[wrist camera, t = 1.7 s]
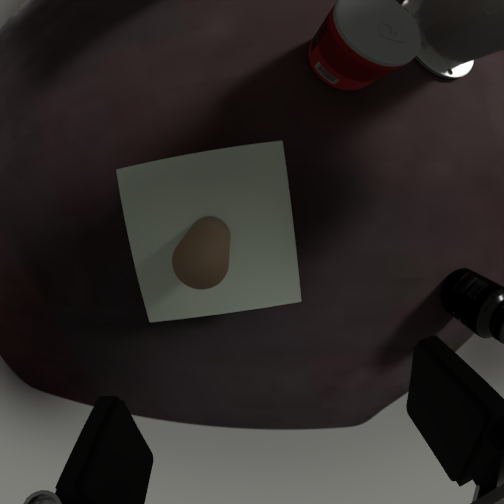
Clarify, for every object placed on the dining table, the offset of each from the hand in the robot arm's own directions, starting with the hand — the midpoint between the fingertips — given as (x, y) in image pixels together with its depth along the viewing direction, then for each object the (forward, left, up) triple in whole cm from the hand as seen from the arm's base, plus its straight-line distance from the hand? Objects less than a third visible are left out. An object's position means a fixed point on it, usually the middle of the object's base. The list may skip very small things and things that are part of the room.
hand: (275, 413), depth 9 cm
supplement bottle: (+12, +28, -26) cm, 40 cm away
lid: (-2, -3, -18) cm, 18 cm away
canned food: (-18, +13, -26) cm, 35 cm away
